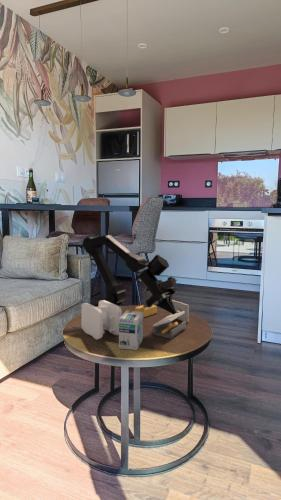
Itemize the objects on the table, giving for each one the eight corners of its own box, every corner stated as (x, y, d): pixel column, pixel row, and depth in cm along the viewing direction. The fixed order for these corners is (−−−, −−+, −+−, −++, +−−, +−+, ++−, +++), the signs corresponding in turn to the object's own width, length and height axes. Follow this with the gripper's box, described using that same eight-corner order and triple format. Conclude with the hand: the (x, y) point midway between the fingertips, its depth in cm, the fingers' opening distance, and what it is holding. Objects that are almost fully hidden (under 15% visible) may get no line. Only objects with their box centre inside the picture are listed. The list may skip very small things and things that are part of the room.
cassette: (189, 322, 146) (190, 305, 145) (186, 322, 145) (187, 305, 144) (171, 315, 155) (171, 299, 155) (168, 315, 154) (168, 299, 154)
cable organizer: (79, 330, 132) (80, 301, 131) (102, 325, 138) (103, 298, 137) (98, 342, 120) (98, 311, 119) (122, 336, 126) (123, 306, 125)
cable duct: (153, 334, 129) (153, 327, 129) (168, 324, 141) (168, 318, 141) (171, 338, 125) (172, 331, 125) (185, 328, 137) (186, 321, 137)
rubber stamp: (143, 317, 150) (144, 291, 149) (134, 315, 154) (134, 289, 153) (157, 313, 158) (158, 288, 156) (148, 310, 161) (148, 286, 160)
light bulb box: (137, 350, 113) (137, 320, 112) (117, 348, 114) (118, 318, 113) (143, 339, 124) (143, 311, 123) (125, 337, 125) (126, 309, 124)
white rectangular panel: (153, 326, 129) (152, 324, 129) (168, 317, 141) (167, 315, 141) (170, 321, 125) (169, 319, 125) (184, 312, 137) (184, 310, 137)
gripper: (154, 273, 124) (180, 307, 120) (174, 267, 140) (197, 297, 136) (135, 291, 129) (159, 324, 124) (156, 283, 145) (179, 312, 141)
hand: (175, 313), depth 131 cm, fingers closed
